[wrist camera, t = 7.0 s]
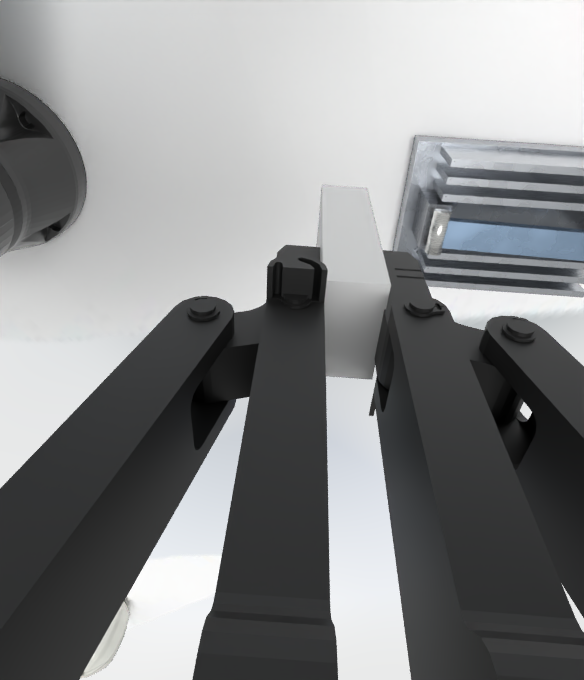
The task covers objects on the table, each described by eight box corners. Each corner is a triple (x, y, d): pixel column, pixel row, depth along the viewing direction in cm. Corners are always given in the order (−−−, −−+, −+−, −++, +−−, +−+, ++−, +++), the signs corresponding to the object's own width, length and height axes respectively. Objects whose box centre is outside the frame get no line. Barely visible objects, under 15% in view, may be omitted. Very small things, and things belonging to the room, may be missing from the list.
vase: (126, 618, 101) (102, 692, 90) (60, 601, 98) (28, 676, 87) (142, 590, 93) (119, 668, 82) (72, 572, 90) (38, 650, 80)
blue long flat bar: (423, 247, 41) (425, 254, 40) (432, 207, 39) (435, 213, 38) (601, 264, 40) (609, 271, 39) (621, 224, 38) (629, 231, 37)
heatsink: (391, 258, 49) (403, 302, 42) (415, 135, 42) (434, 163, 35) (571, 271, 49) (614, 317, 41) (625, 149, 42) (689, 180, 34)
